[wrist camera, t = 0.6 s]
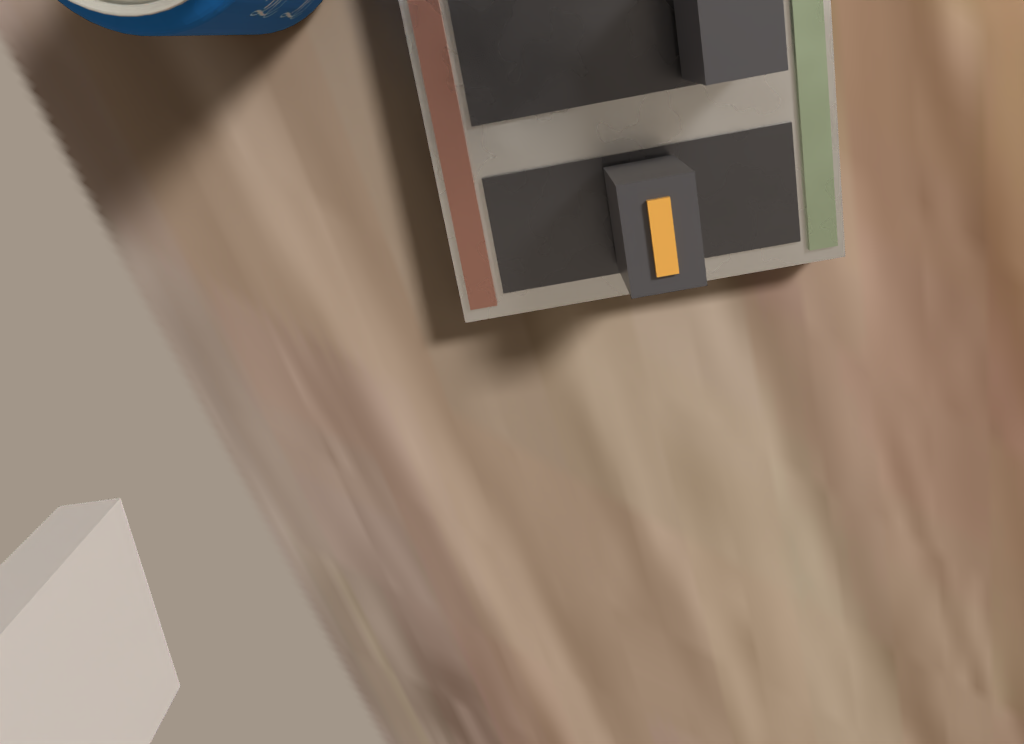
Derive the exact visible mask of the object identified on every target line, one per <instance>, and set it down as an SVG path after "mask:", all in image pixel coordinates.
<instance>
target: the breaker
mask: <svg viewBox="0 0 1024 744" xmlns="http://www.w3.org/2000/svg"><path fill="white" fill-rule="evenodd" d="M673 2H674V11H675V20H676V29H677V38H678V47H679V56H680V65H681V74H682V79H684V80H688V81H691V82H695V83H699V84H702V85H706V86H707V85H712V84H717V83H723V82H728V81H733V80H739V79H744V78H749V77H755V76H760V75H765V74H771V73H776V72H781V71H787V70H788V58H787V44H786V31H785V17H784V4H783V0H673Z"/></svg>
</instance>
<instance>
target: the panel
mask: <svg viewBox="0 0 1024 744" xmlns="http://www.w3.org/2000/svg"><path fill="white" fill-rule="evenodd" d="M783 4H784V17H785V31H786V44H787V58H788V70H787V71H781V72H776V73H771V74H765V75H760V76H755V77H749V78H744V79H739V80H733V81H728V82H723V83H717V84H712V85H707V86H706V85H702V84H699V83H695V82H691V81H688V80H684V79H682V74H681V65H680V56H679V47H678V38H677V29H676V20H675V11H674V2H673V0H399V5H400V10H401V15H402V20H403V25H404V29H405V34H406V39H407V44H408V49H409V53H410V58H411V63H412V68H413V73H414V78H415V82H416V87H417V92H418V97H419V102H420V106H421V111H422V116H423V121H424V126H425V131H426V135H427V140H428V145H429V150H430V155H431V159H432V164H433V169H434V174H435V179H436V184H437V188H438V193H439V198H440V203H441V208H442V212H443V217H444V222H445V227H446V232H447V237H448V241H449V246H450V251H451V256H452V261H453V265H454V270H455V275H456V280H457V285H458V290H459V294H460V299H461V304H462V309H463V314H464V318H465V323H467V322H473V321H479V320H485V319H490V318H496V317H502V316H507V315H513V314H519V313H525V312H530V311H536V310H542V309H548V308H553V307H559V306H565V305H570V304H576V303H582V302H588V301H593V300H599V299H605V298H611V297H616V296H622V295H628V294H629V292H628V290H627V287H626V285H625V283H624V281H623V279H622V276H621V274H620V272H619V270H618V266H617V259H616V252H615V246H614V239H613V232H612V225H611V218H610V211H609V204H608V197H607V190H606V183H605V177H604V170H603V167H608V166H613V165H619V164H624V163H630V162H635V161H641V160H646V159H652V158H657V157H662V156H668V155H674V156H675V157H677V158H678V159H679V160H680V161H682V162H683V163H684V164H686V165H687V166H688V167H690V168H691V169H692V170H694V171H695V178H696V187H697V196H698V205H699V214H700V223H701V232H702V241H703V250H704V259H705V268H706V277H707V281H708V280H714V279H719V278H725V277H731V276H737V275H742V274H748V273H754V272H759V271H765V270H771V269H777V268H782V267H788V266H794V265H800V264H805V263H811V262H817V261H822V260H828V259H834V258H840V257H845V243H844V225H843V208H842V191H841V173H840V156H839V139H838V121H837V104H836V87H835V69H834V52H833V35H832V17H831V0H783Z"/></svg>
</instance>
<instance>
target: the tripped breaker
mask: <svg viewBox="0 0 1024 744" xmlns="http://www.w3.org/2000/svg"><path fill="white" fill-rule="evenodd" d="M603 170H604V177H605V183H606V190H607V197H608V204H609V211H610V218H611V225H612V232H613V239H614V246H615V252H616V259H617V266H618V270H619V272H620V274H621V276H622V279H623V281H624V283H625V285H626V287H627V290H628V292H629V294H630V296H631V298H632V299H633V298H639V297H644V296H650V295H656V294H662V293H667V292H673V291H679V290H685V289H690V288H696V287H702V286H707V277H706V268H705V259H704V250H703V241H702V232H701V223H700V214H699V205H698V196H697V187H696V178H695V171H694V170H692V169H691V168H690V167H688V166H687V165H686V164H684V163H683V162H682V161H680V160H679V159H678V158H677V157H675V156H674V155H668V156H662V157H657V158H652V159H646V160H641V161H635V162H630V163H624V164H619V165H613V166H608V167H603Z"/></svg>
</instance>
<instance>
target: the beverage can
mask: <svg viewBox="0 0 1024 744" xmlns="http://www.w3.org/2000/svg"><path fill="white" fill-rule="evenodd" d="M58 1H59V2H61V3H62V4H63V5H65V6H66V7H67V8H69V9H70V10H71V11H73V12H74V13H76V14H78V15H80V16H81V17H83V18H85V19H87V20H88V21H90V22H93V23H95V24H97V25H100V26H102V27H104V28H107V29H110V30H114V31H118V32H121V33H125V34H132V35H139V36H192V35H255V34H267V33H273V32H277V31H280V30H284V29H286V28H288V27H290V26H293V25H295V24H296V23H298V22H299V21H301V20H303V19H304V18H306V17H307V16H308V15H309V14H310V13H311V12H312V11H314V10H315V9H316V7H317V6H318V5H319V4H320V3H321V2H322V0H58Z"/></svg>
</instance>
